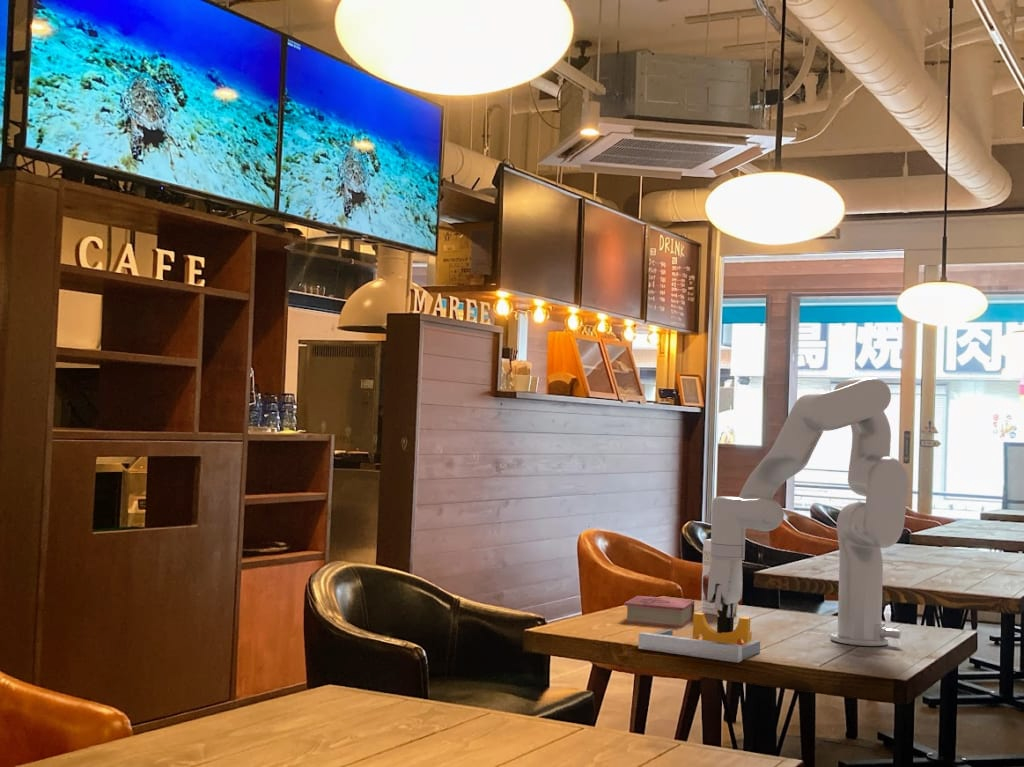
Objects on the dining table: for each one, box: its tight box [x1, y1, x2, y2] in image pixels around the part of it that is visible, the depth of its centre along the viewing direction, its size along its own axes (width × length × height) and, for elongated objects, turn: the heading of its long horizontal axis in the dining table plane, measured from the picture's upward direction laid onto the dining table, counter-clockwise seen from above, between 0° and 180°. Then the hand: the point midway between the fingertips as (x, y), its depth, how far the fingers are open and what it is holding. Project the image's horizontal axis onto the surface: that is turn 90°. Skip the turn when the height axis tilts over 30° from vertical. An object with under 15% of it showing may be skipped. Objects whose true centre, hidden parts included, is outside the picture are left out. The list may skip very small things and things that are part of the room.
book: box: [623, 595, 695, 628], centre depth 282 cm, size 14×15×5 cm
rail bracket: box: [637, 628, 761, 664], centre depth 243 cm, size 22×14×3 cm, turn 59°
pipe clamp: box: [692, 611, 753, 645], centre depth 252 cm, size 12×4×6 cm, turn 67°
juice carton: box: [701, 538, 739, 616], centre depth 297 cm, size 8×9×19 cm
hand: (725, 634), depth 255 cm, fingers closed
